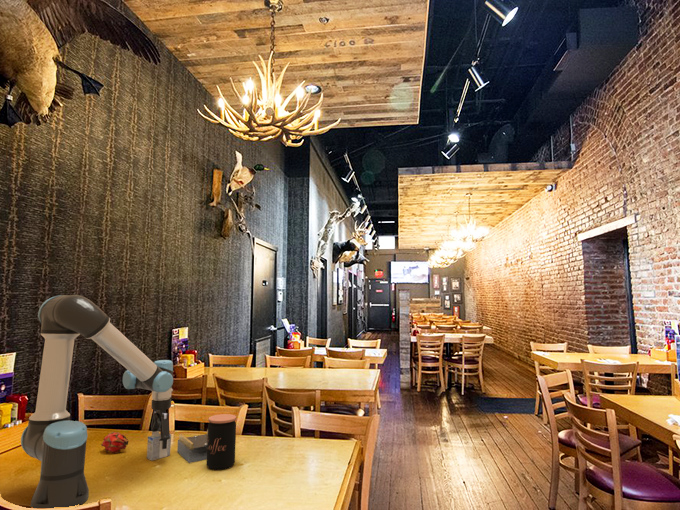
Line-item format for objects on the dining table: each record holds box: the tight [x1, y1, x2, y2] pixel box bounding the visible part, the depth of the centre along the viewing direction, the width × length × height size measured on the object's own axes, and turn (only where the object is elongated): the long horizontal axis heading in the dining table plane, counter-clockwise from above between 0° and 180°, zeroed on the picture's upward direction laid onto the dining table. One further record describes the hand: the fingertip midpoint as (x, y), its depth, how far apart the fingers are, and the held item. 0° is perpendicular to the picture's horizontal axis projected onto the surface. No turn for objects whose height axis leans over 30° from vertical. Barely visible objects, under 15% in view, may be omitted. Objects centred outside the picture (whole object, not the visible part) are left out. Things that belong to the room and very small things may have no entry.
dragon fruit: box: [101, 431, 130, 454], centre depth 179 cm, size 8×8×12 cm
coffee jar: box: [206, 413, 237, 471], centre depth 164 cm, size 11×11×18 cm
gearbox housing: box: [176, 429, 208, 464], centre depth 177 cm, size 16×17×7 cm
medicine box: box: [146, 433, 172, 462], centre depth 173 cm, size 8×4×9 cm, turn 141°
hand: (158, 452), depth 172 cm, fingers open, 13 cm apart
